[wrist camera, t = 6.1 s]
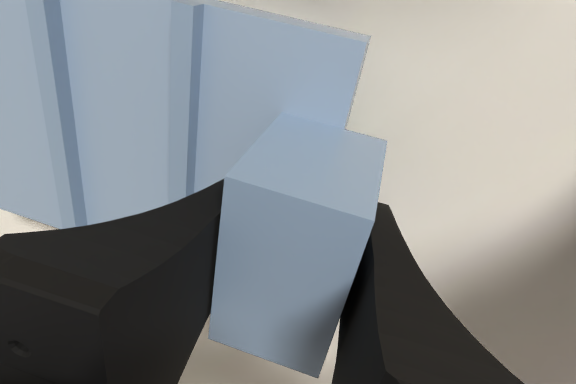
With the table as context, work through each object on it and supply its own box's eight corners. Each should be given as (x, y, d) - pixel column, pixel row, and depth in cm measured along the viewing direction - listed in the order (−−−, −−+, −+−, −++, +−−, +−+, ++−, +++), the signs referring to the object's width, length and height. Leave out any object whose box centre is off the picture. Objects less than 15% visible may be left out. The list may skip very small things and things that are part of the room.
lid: (416, 46, 10) (417, 103, 6) (331, 300, 15) (300, 426, 11) (-57, -65, 12) (-296, -78, 8) (6, 192, 18) (-122, 264, 13)
